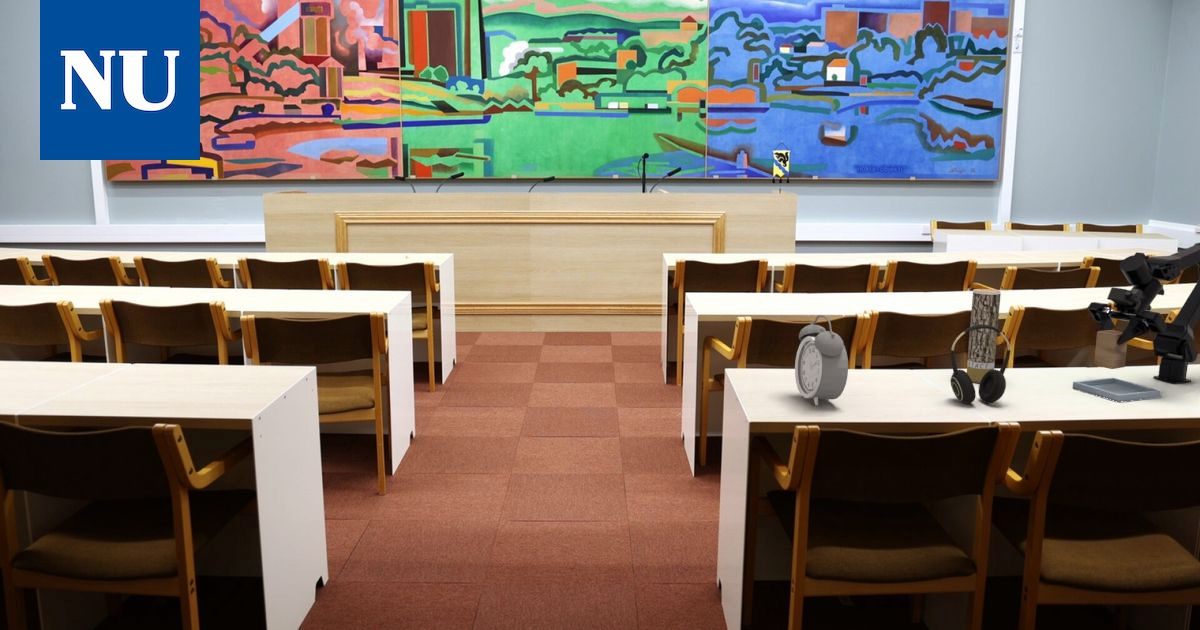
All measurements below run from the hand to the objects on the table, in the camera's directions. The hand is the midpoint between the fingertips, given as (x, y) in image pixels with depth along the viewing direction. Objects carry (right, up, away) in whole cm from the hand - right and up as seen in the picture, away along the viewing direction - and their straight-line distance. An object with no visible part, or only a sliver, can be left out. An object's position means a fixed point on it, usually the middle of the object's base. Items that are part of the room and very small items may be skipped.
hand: (1108, 341), depth 226 cm
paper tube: (-28, -11, +13) cm, 33 cm away
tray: (+3, -13, +1) cm, 14 cm away
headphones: (-38, -15, -8) cm, 41 cm away
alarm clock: (-77, -15, -7) cm, 78 cm away
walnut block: (+1, -6, +2) cm, 7 cm away
